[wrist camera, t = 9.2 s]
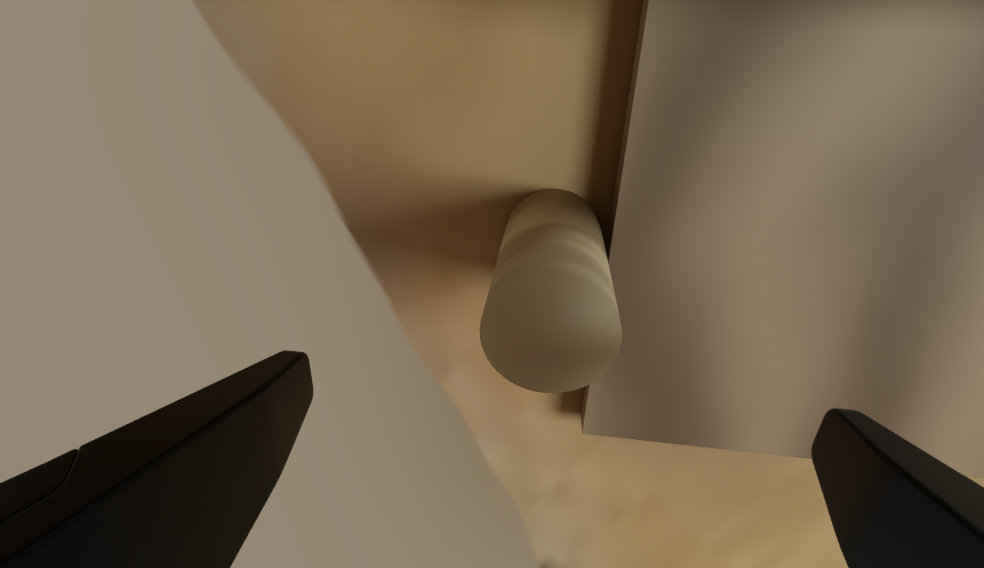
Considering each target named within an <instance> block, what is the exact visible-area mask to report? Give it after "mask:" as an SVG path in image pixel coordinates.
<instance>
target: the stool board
mask: <svg viewBox="0 0 984 568" xmlns="http://www.w3.org/2000/svg"><path fill="white" fill-rule="evenodd" d="M606 255H607V260H608V265H609V269H610V274H611V279H612V283H613V288H614V293H615V298H616V302H617V307H618V312H619V317H620V321H621V326H622V342H621V346H620V350H619V353H618V355H617V357H616V359H615V361H614V363H613V364H612V366H611V367H610V368H609V369H608V370H607V372H605V373H604V374H603V375H602V376H601V377H600V378H598V379H597V380H596V381H594V382H592V383H591V384H589V385H587V386H585V392H584V398H583V405H582V412H581V423H582V434H591V435H600V436H609V437H618V438H627V439H636V440H645V441H654V442H664V443H673V444H682V445H691V446H700V447H709V448H718V449H727V450H736V451H745V452H754V453H763V454H772V455H781V456H790V457H799V458H808V459H812V455H811V449H812V444H813V441H814V439H815V436H816V434H817V432H818V429H819V427H820V425H821V422H822V420H823V418H824V415H825V414H826V412H827V411H828V410H829V409H832V408H840V409H850V410H856V411H859V412H861V413H863V414H865V415H866V416H868V417H870V418H871V419H873V420H874V421H876V422H878V423H879V424H881V425H883V426H884V427H886V428H888V429H889V430H891V431H892V432H894V433H896V434H897V435H899V436H901V437H902V438H904V439H905V440H907V441H909V442H910V443H912V444H914V445H915V446H917V447H918V448H920V449H922V450H923V451H925V452H927V453H928V454H930V455H931V456H933V457H935V458H936V459H938V460H940V461H941V462H943V463H945V464H946V465H948V466H949V467H951V468H953V469H954V470H956V471H958V472H959V473H961V474H962V475H964V476H970V477H979V478H984V0H643V5H642V11H641V18H640V25H639V31H638V38H637V45H636V51H635V58H634V65H633V71H632V78H631V85H630V91H629V98H628V105H627V111H626V118H625V125H624V131H623V138H622V145H621V151H620V158H619V165H618V171H617V178H616V185H615V191H614V198H613V205H612V211H611V218H610V225H609V231H608V238H607V245H606Z"/></svg>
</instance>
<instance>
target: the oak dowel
mask: <svg viewBox="0 0 984 568" xmlns="http://www.w3.org/2000/svg"><path fill="white" fill-rule="evenodd" d="M480 339H481V344H482V347H483V350H484V353H485V355H486V357H487V359H488V360H489V362H490V363H491V365H492V366H493V367H494V368H495V369H496V370H497V372H499V373H500V374H501V375H502V376H503V377H504V378H506V379H507V380H509V381H510V382H512V383H514V384H516V385H518V386H520V387H523V388H525V389H528V390H532V391H536V392H542V393H563V392H569V391H573V390H577V389H580V388H582V387H585V386H587V385H589V384H591V383H592V382H594V381H596V380H597V379H598V378H600V377H601V376H602V375H603V374H604V373H605V372H607V370H608V369H609V368H610V367H611V366H612V364H613V363H614V361H615V359H616V357H617V355H618V353H619V350H620V346H621V342H622V326H621V321H620V317H619V312H618V307H617V302H616V298H615V293H614V288H613V283H612V279H611V274H610V269H609V265H608V260H607V255H606V250H605V246H604V241H603V236H602V231H601V227H600V222H599V219H598V216H597V214H596V213H595V211H594V209H593V208H592V207H591V205H590V204H589V203H588V202H587V201H585V200H584V199H583V198H582V197H580V196H578V195H576V194H574V193H572V192H569V191H565V190H560V189H548V190H542V191H538V192H535V193H533V194H531V195H529V196H527V197H526V198H524V199H523V200H522V201H520V202H519V203H518V204H517V205H516V207H515V208H514V209H513V211H512V212H511V214H510V216H509V218H508V221H507V225H506V229H505V232H504V236H503V240H502V244H501V247H500V251H499V255H498V259H497V263H496V266H495V270H494V274H493V278H492V281H491V285H490V289H489V293H488V296H487V300H486V304H485V308H484V311H483V315H482V319H481V324H480Z"/></svg>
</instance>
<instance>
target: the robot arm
mask: <svg viewBox="0 0 984 568" xmlns="http://www.w3.org/2000/svg"><path fill="white" fill-rule="evenodd" d="M312 398H313V384H312V377H311V370H310V363H309V358H308V356H307V355H306V354H305V353H304V352H296V351H282V352H279V353H277V354H275V355H273V356H271V357H268V358H267V359H264V360H262V361H260V362H258V363H256V364H254V365H252V366H249V367H247V368H245V369H243V370H241V371H239V372H237V373H235V374H233V375H230V376H229V377H226V378H224V379H222V380H220V381H218V382H215V383H213V384H211V385H209V386H207V387H205V388H203V389H201V390H199V391H196V392H194V393H192V394H190V395H188V396H186V397H184V398H182V399H179V400H177V401H175V402H173V403H171V404H169V405H167V406H165V407H162V408H160V409H158V410H156V411H154V412H152V413H150V414H148V415H145V416H143V417H141V418H139V419H137V420H135V421H133V422H131V423H129V424H127V425H124V426H122V427H120V428H118V429H116V430H114V431H112V432H109V433H107V434H105V435H103V436H101V437H99V438H97V439H95V440H93V441H90V442H88V443H86V444H84V445H82V446H80V448H79V450H77V449H73V450H71V451H69V452H67V453H65V454H63V455H61V456H58V457H56V458H54V459H52V460H50V461H48V462H46V463H44V464H41V465H39V466H37V467H35V468H33V469H30V470H28V471H26V472H24V473H22V474H19V475H17V476H15V477H13V478H11V479H8V480H6V481H4V482H2V483H0V568H230V567H231V565H232V563H233V561H234V559H235V558H236V556H237V554H238V552H239V550H240V548H241V547H242V545H243V543H244V541H245V539H246V538H247V536H248V534H249V532H250V530H251V529H252V527H253V525H254V523H255V521H256V520H257V518H258V516H259V514H260V512H261V510H262V508H263V507H264V505H265V503H266V501H267V500H268V498H269V496H270V494H271V492H272V490H273V489H274V487H275V485H276V483H277V481H278V479H279V477H280V475H281V473H282V471H283V469H284V466H285V464H286V462H287V459H288V457H289V454H290V452H291V450H292V447H293V445H294V443H295V440H296V438H297V435H298V433H299V430H300V428H301V425H302V423H303V421H304V418H305V416H306V414H307V411H308V408H309V406H310V404H311V401H312ZM811 455H812V461H813V464H814V467H815V470H816V473H817V477H818V480H819V483H820V486H821V489H822V493H823V496H824V499H825V502H826V505H827V509H828V512H829V515H830V518H831V521H832V524H833V528H834V531H835V534H836V537H837V540H838V542H839V545H840V548H841V550H842V553H843V555H844V558H845V560H846V563H847V565H848V567H849V568H984V487H982V486H980V485H979V484H977V483H975V482H974V481H972V480H971V479H969V478H967V477H966V476H964V475H962V474H961V473H959V472H958V471H956V470H954V469H953V468H951V467H949V466H948V465H946V464H945V463H943V462H941V461H940V460H938V459H936V458H935V457H933V456H931V455H930V454H928V453H927V452H925V451H923V450H922V449H920V448H918V447H917V446H915V445H914V444H912V443H910V442H909V441H907V440H905V439H904V438H902V437H901V436H899V435H897V434H896V433H894V432H892V431H891V430H889V429H888V428H886V427H884V426H883V425H881V424H879V423H878V422H876V421H874V420H873V419H871V418H870V417H868V416H866V415H865V414H863V413H861V412H859V411H856V410H850V409H840V408H832V409H829V410H828V411H827V412H826V414H825V415H824V418H823V420H822V422H821V425H820V427H819V429H818V432H817V434H816V436H815V439H814V441H813V444H812V449H811Z"/></svg>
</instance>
